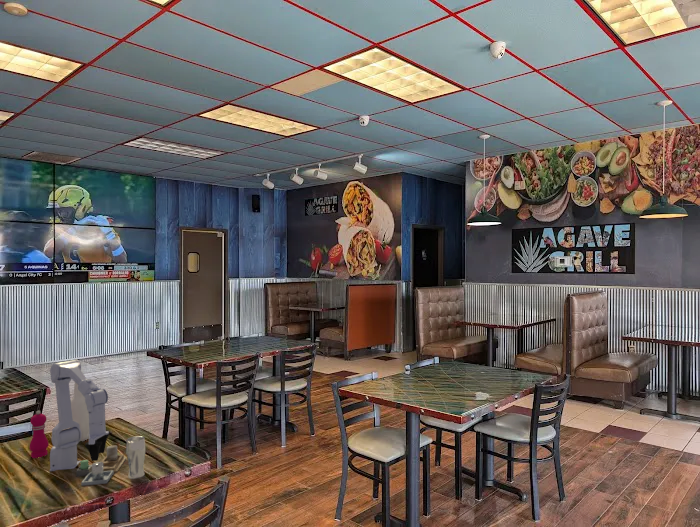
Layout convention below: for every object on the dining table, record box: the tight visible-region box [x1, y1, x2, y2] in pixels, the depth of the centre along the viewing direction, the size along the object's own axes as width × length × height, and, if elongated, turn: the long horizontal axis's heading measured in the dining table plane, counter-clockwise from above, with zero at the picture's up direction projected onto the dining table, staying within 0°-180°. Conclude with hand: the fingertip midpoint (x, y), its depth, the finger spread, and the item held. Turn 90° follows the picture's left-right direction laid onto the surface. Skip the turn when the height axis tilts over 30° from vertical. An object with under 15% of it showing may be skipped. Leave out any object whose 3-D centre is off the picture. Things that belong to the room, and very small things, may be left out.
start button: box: [79, 459, 89, 469], centre depth 201 cm, size 3×3×4 cm
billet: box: [91, 461, 104, 481], centre depth 195 cm, size 4×4×6 cm
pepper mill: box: [28, 410, 50, 459], centre depth 222 cm, size 7×7×20 cm
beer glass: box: [125, 435, 146, 480], centre depth 198 cm, size 7×7×15 cm
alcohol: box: [70, 381, 89, 443], centre depth 241 cm, size 9×9×30 cm
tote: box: [80, 470, 115, 487], centre depth 195 cm, size 9×9×2 cm
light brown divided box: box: [101, 444, 127, 473], centre depth 208 cm, size 9×14×7 cm, turn 10°
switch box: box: [75, 464, 92, 477], centre depth 201 cm, size 5×5×3 cm
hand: (97, 456), depth 195 cm, fingers open, 7 cm apart
